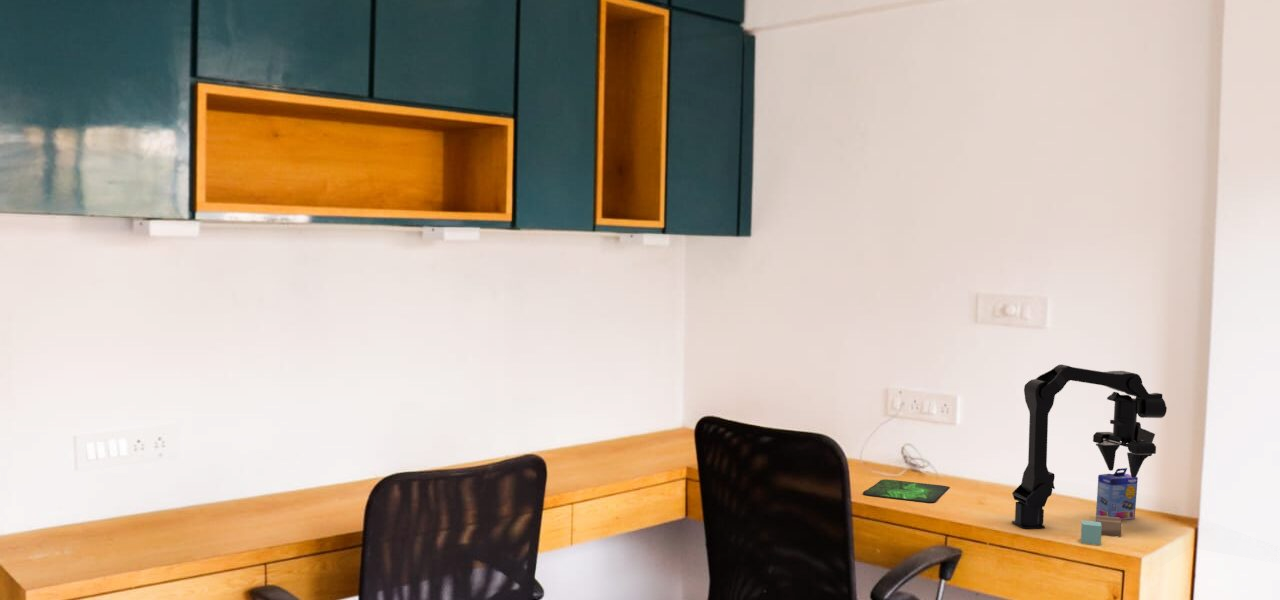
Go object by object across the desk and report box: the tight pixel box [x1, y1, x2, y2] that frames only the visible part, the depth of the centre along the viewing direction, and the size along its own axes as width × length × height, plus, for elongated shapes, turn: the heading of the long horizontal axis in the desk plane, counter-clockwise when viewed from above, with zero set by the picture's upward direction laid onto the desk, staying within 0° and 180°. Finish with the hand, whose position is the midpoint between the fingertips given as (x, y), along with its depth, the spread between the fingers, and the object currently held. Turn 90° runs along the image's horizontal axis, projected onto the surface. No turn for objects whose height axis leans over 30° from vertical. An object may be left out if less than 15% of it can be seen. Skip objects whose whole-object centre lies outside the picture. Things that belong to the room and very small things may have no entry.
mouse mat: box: [862, 479, 951, 504], centre depth 339 cm, size 27×22×1 cm
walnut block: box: [1095, 514, 1122, 538], centre depth 293 cm, size 6×6×4 cm
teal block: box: [1080, 519, 1102, 546], centre depth 283 cm, size 5×5×5 cm
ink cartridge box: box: [1095, 467, 1139, 521], centre depth 309 cm, size 10×6×14 cm, turn 111°
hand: (1122, 473), depth 301 cm, fingers open, 9 cm apart
